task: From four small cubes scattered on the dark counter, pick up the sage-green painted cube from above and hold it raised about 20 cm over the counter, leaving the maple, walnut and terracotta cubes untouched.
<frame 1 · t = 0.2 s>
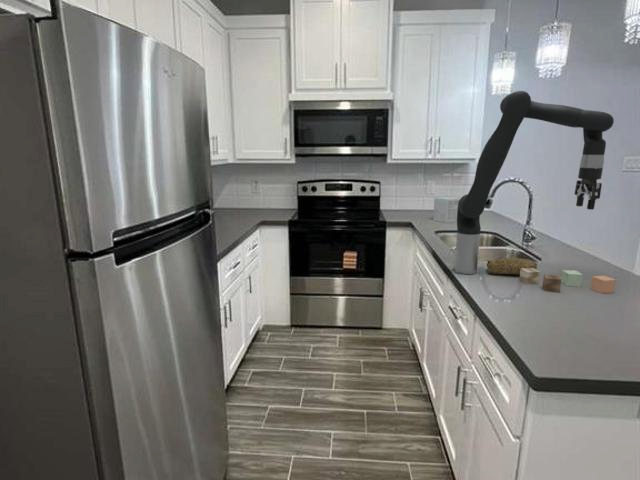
hand: (584, 207, 154), 29 cm above the table, tool pointing down, fingers open, 8 cm apart
terracotta block: (601, 290, 143), on the table
sage block: (570, 284, 150), on the table
sponge: (511, 273, 165), on the table
walnut block: (550, 289, 145), on the table
maple block: (528, 282, 153), on the table
supplement box: (445, 221, 288), on the table
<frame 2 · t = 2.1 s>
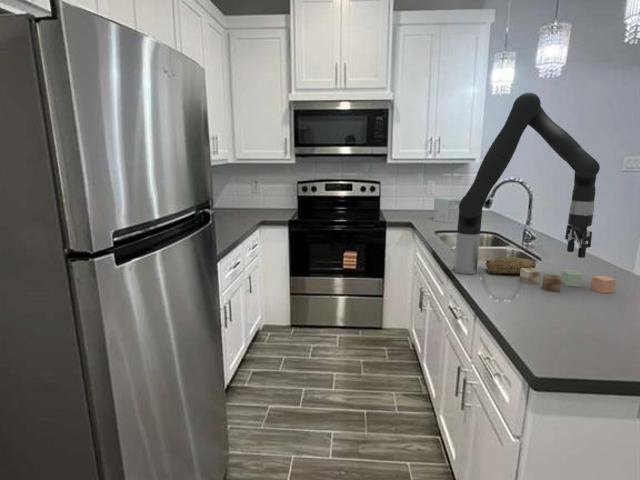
hand: (575, 254, 147), 12 cm above the table, tool pointing down, fingers open, 8 cm apart
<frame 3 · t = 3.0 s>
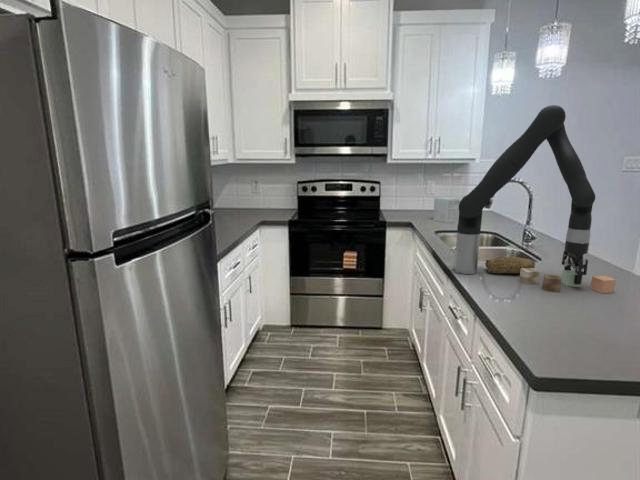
hand: (571, 280, 150), 1 cm above the table, tool pointing down, fingers open, 8 cm apart
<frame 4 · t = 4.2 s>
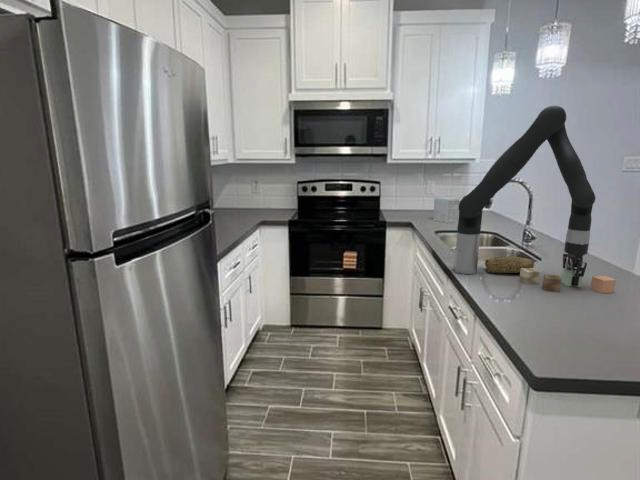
hand: (571, 283, 150), 0 cm above the table, tool pointing down, fingers closed on sage block, 5 cm apart
sage block: (570, 284, 150), on the table, touching gripper
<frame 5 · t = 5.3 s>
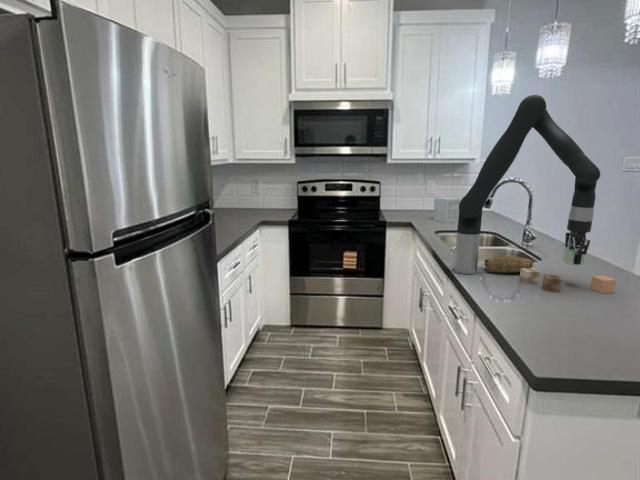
hand: (573, 261, 148), 9 cm above the table, tool pointing down, fingers closed on sage block, 5 cm apart
sage block: (573, 263, 148), point 9 cm above the table, touching gripper
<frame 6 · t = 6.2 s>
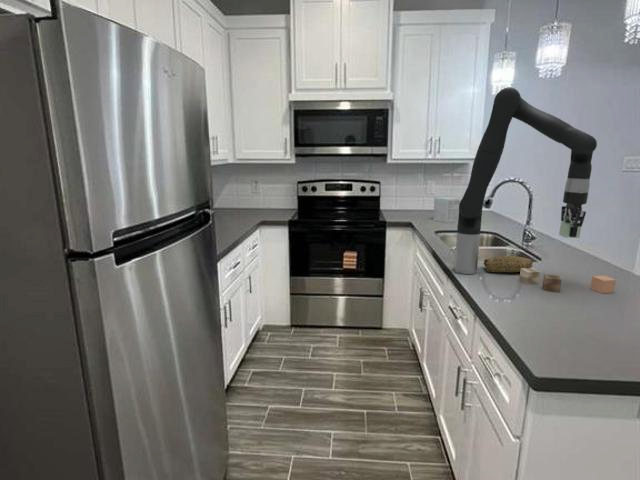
hand: (569, 234, 147), 19 cm above the table, tool pointing down, fingers closed on sage block, 5 cm apart
sage block: (568, 236, 147), point 19 cm above the table, touching gripper
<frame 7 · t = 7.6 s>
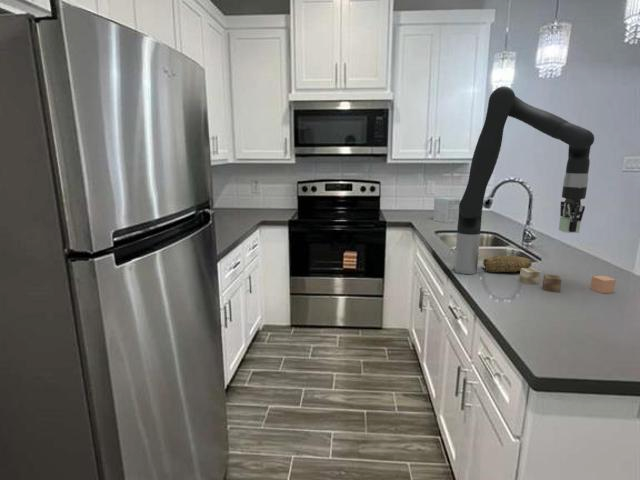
hand: (568, 230, 147), 21 cm above the table, tool pointing down, fingers closed on sage block, 5 cm apart
sage block: (568, 231, 147), point 21 cm above the table, touching gripper
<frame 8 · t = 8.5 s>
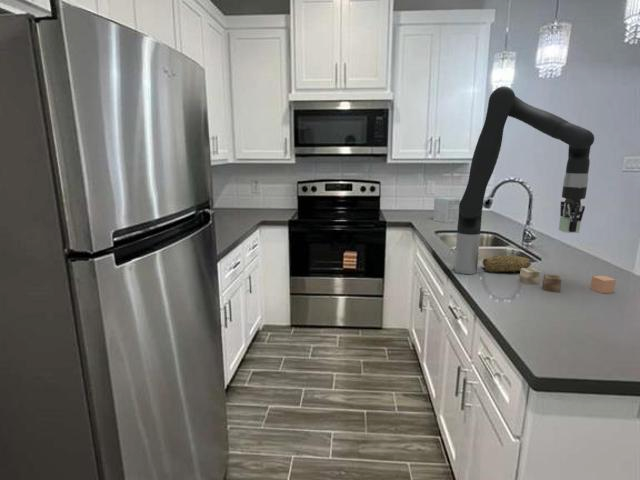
hand: (568, 230, 147), 21 cm above the table, tool pointing down, fingers closed on sage block, 5 cm apart
sage block: (568, 231, 147), point 21 cm above the table, touching gripper
at the end: the gripper is holding sage block; sage block point 20.9 cm above the table; terracotta block moved 0.1 cm from its start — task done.
